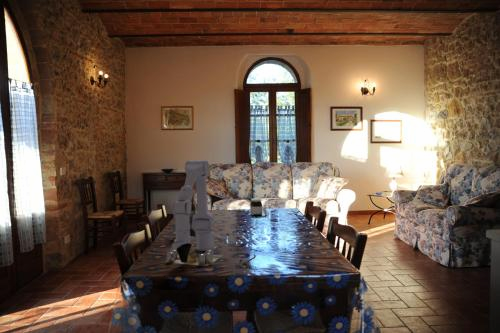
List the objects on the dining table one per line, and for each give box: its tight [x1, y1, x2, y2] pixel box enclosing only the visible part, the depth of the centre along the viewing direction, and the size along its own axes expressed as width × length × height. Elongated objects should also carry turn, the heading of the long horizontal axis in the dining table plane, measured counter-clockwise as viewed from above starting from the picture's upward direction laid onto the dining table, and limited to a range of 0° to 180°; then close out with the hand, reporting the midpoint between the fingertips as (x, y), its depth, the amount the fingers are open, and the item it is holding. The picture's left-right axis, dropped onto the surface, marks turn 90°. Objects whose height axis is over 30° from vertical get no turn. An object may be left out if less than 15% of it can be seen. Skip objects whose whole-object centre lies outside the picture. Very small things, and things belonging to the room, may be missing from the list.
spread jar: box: [249, 197, 268, 217], centre depth 284 cm, size 12×11×12 cm
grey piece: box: [166, 248, 214, 266], centre depth 173 cm, size 12×20×4 cm, turn 69°
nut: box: [187, 251, 197, 262], centre depth 173 cm, size 4×5×3 cm
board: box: [165, 252, 224, 267], centre depth 176 cm, size 16×20×1 cm
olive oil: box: [189, 200, 196, 237], centre depth 224 cm, size 11×11×25 cm
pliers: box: [239, 253, 257, 269], centre depth 175 cm, size 10×1×20 cm
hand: (184, 262), depth 167 cm, fingers closed
